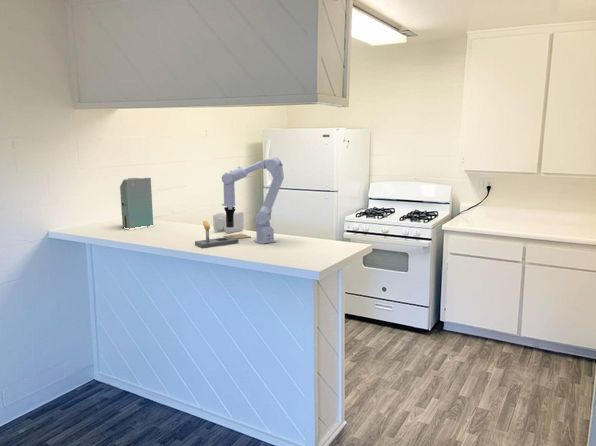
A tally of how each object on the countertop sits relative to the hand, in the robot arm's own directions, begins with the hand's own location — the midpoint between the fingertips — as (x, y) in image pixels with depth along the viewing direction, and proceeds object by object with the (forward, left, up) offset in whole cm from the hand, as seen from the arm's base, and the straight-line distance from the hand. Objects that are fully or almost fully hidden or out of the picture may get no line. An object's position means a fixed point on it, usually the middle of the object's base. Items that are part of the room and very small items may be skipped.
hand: (230, 221), depth 259 cm
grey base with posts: (-5, +11, -10) cm, 16 cm away
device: (+67, +29, -10) cm, 73 cm away
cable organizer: (+23, -10, -10) cm, 27 cm away
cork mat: (+5, -6, -10) cm, 13 cm away
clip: (0, +14, -2) cm, 14 cm away
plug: (0, 0, -3) cm, 3 cm away
